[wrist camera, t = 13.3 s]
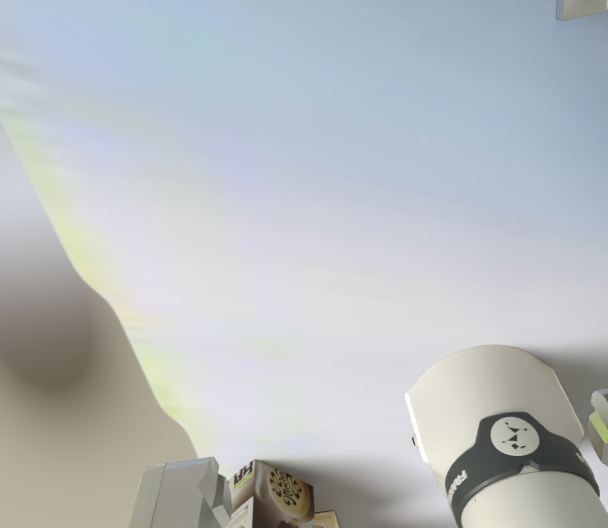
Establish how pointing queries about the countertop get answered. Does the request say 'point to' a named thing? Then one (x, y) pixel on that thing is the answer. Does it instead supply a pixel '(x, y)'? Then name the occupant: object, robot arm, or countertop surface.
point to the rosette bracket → (579, 8)
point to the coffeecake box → (326, 520)
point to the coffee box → (270, 499)
